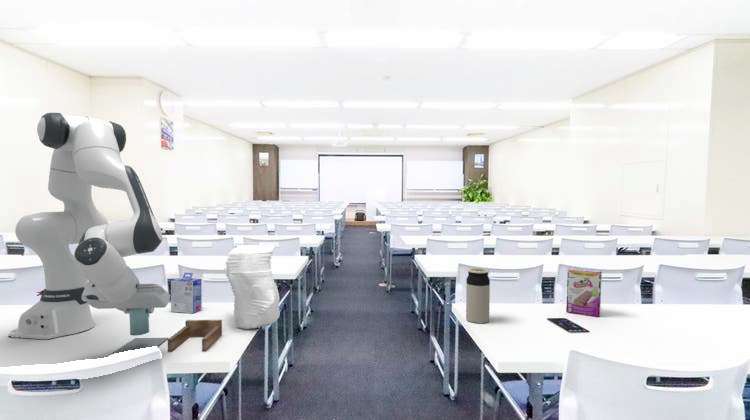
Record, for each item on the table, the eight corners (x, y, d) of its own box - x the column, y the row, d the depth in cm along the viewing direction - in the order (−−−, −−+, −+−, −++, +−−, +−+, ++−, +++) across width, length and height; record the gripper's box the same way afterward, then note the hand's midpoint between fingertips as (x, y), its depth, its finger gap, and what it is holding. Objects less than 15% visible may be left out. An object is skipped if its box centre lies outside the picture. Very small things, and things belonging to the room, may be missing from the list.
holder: (167, 351, 114) (167, 334, 114) (187, 335, 127) (187, 319, 127) (206, 351, 115) (206, 333, 114) (221, 335, 128) (221, 319, 127)
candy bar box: (566, 312, 152) (566, 269, 151) (567, 309, 156) (568, 267, 155) (599, 317, 146) (601, 272, 145) (600, 314, 150) (601, 270, 149)
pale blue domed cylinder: (126, 335, 114) (125, 300, 114) (139, 327, 121) (138, 294, 121) (143, 335, 115) (142, 300, 114) (156, 327, 122) (155, 294, 121)
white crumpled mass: (286, 310, 154) (285, 244, 153) (275, 335, 128) (274, 254, 127) (229, 312, 153) (228, 244, 152) (206, 337, 126) (205, 255, 125)
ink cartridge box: (202, 309, 156) (202, 272, 155) (193, 313, 150) (193, 275, 150) (180, 308, 158) (179, 271, 157) (170, 312, 152) (169, 274, 152)
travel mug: (480, 325, 137) (481, 273, 137) (461, 319, 143) (462, 269, 143) (493, 320, 143) (494, 270, 142) (474, 315, 149) (475, 267, 148)
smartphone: (569, 332, 130) (545, 318, 145) (569, 334, 130) (545, 319, 145) (591, 332, 130) (565, 317, 145) (591, 333, 130) (565, 319, 145)
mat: (106, 357, 110) (106, 356, 110) (135, 339, 124) (135, 338, 124) (144, 357, 110) (144, 355, 110) (168, 338, 124) (168, 337, 124)
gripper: (163, 274, 110) (179, 301, 120) (85, 276, 109) (109, 302, 119) (155, 295, 105) (173, 320, 116) (74, 296, 105) (100, 321, 115)
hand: (140, 311), depth 117 cm, fingers closed on pale blue domed cylinder, 5 cm apart
